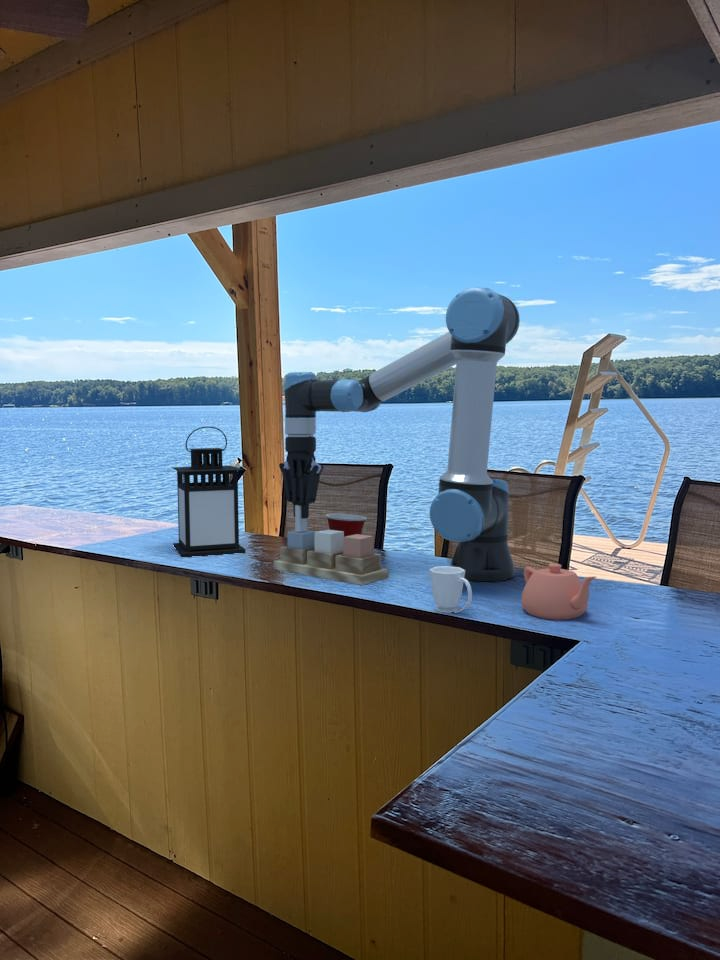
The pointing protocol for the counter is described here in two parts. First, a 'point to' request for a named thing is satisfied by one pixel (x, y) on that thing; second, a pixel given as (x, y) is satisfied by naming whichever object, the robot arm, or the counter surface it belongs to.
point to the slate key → (301, 540)
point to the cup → (449, 588)
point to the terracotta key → (358, 546)
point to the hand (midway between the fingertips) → (301, 530)
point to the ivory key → (329, 541)
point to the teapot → (555, 593)
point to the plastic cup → (346, 523)
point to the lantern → (207, 505)
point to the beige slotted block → (331, 565)
